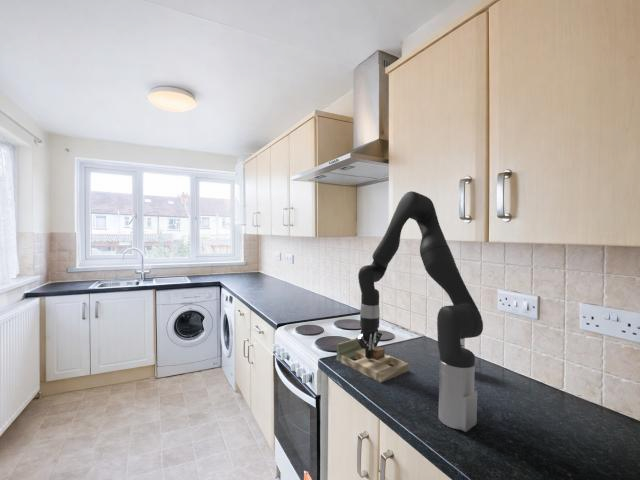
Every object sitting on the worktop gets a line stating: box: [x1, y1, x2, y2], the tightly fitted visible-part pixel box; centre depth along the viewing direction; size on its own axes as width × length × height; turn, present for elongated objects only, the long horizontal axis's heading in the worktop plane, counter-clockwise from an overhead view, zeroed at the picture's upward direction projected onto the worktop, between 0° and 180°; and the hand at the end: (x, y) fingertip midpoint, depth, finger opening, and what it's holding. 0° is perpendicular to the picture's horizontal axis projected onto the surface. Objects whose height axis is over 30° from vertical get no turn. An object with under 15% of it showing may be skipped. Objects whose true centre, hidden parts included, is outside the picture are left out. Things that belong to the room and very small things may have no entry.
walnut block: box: [372, 345, 386, 360], centre depth 128 cm, size 5×5×4 cm
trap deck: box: [336, 338, 409, 384], centre depth 126 cm, size 24×16×7 cm, turn 37°
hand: (368, 358), depth 124 cm, fingers closed
